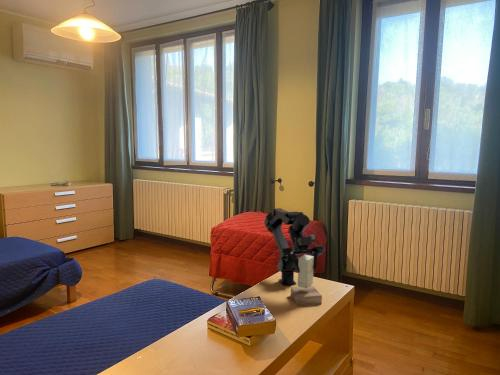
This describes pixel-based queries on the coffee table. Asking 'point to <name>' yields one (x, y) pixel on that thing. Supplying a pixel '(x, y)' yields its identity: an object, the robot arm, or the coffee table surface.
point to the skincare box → (305, 271)
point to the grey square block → (306, 296)
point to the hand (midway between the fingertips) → (307, 271)
